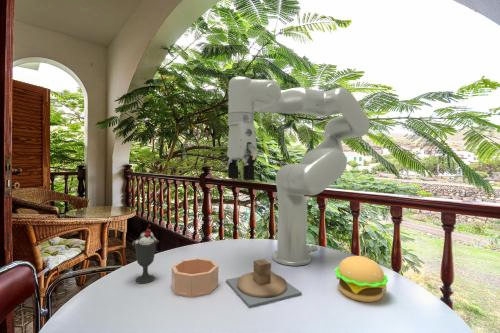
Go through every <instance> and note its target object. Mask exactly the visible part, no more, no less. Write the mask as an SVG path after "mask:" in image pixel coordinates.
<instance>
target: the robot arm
mask: <svg viewBox="0 0 500 333" xmlns="http://www.w3.org/2000/svg"><path fill="white" fill-rule="evenodd" d="M227 104H228V106H227V107H228V108H227V109H228V110H227V112H228V113H227V114H228V116H227V117H228V118H227V125H228V127H229V128H228V137H227V151H226V160H227V169H228V170H227V178H228V179H238V178H239V165H238V163H239V161H240V160H242V161H243V164H244V165H243V166H242V167H243V170H242V171H243V172H242V175H243V179H242V180H243V181H254V180H255V166H256V161H257V155H258V152H259V150H258V148H257V136H256V128H255V124H254V122H255V121H254V120H255V112H257V113H258V112H259V113H265V114H266V113H268V114H300V115H309V116H316V117H329V116H333V115H339V114H341V115H340V116H336V117H333V118H331V119H330V120H328V121H327V122H326V124H325V127H324V134H323V135H324V138H323V141H322V142H321V143H320V144H318V145H317V146H316V147H314V148H312V149H311V150H309V151H308V152H306V153H305V154H304V155H303V156H302V157H301V159H300V163H288V164H284V165H282V166H281V167H279V169H278V170H277V171H276V175H275V185H276V191H277V192H276V193H277V205H278V206H277V244H276V246H277V249H276V251H274V252H273V253H272V259H273V261H275V262H277V263H279V264H280V265H281V264H282V265H284V266H291V267H292V266H294V267H296V266H297V267H298V266H299V267H300V266H305V265H308V264H310V263H311V261H312V256H311V255H310V253H311V252H312V253H314V252H317V251H318V250H319V248H318V245H311V246H310V244H307V237H308V236H307V234H308V232H307V230H308V228H307V227H308V204H307V199H306V196H316V195H318V194H320V193H322V192H324V190H326V189H327V188H328V187H330V186H331V185H333V183H335V182H336V181H337V180H338V179H340V178H341V177H342V176H343V174H344V173H345V171H346V168H347V165H348V164H347V163H348V160H347V156H346V155H345V153H344V149H343V144H342V140H345V139H355V138H361V137H363V136H366V134H368V132H369V130H370V120H369V118H368V116H367V113H366V112H365V111H364V109H363V107H362V106H361V104H360V103H359V101H358V100H357V98H355V96H354V95H353V93H351V91H350V90H349V89H347V88H345V87H343V86H339V87H335V88H332V89H330V90H326V91H325V90H324V91H323V90H317V89H316V90H315V89H312V88H307V87H292V88H288V89H283V90H282V89H281V86H280V85H279V84H278V83H277V82H276V81H275V80H271V79H265V78H264V79H252V78H250V77H247V76H235V77H232V78H230V80H229V82H228V103H227Z"/></svg>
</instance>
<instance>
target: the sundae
mask: <svg viewBox="0 0 500 333" xmlns="http://www.w3.org/2000/svg"><path fill="white" fill-rule="evenodd" d="M150 227H151V224H148V226H147V228H146V230H144V231H142V232H141V233H140V236H139V237H138V238H137V239H135V240H133V241H132V243H131V245H132V246H134V248H135V255H136V261H137V264H138V265H139V266H140V267H142V273H141V275H140V276H138V277H137V278H135V279H134V281H135V283H137V284H141V285H142V284H148V283H152V282H153V281H155V279H156V277H155V275H153V274H149V270H148V268H149V266H150V265H152V263H153V262H154V260H155V259H154V258H155V256H156V248H157V245H158V244H159V243H160V240H158V239H157V238H156V237H155V236H154V233H153V232H152V230H151V229H150Z"/></svg>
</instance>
